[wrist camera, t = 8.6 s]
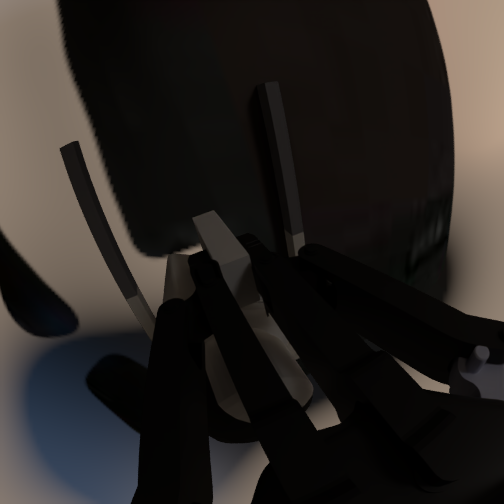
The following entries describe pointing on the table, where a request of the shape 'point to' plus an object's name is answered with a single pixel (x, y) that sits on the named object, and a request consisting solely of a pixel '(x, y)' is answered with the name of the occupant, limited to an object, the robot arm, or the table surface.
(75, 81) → the table surface
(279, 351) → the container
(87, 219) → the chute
